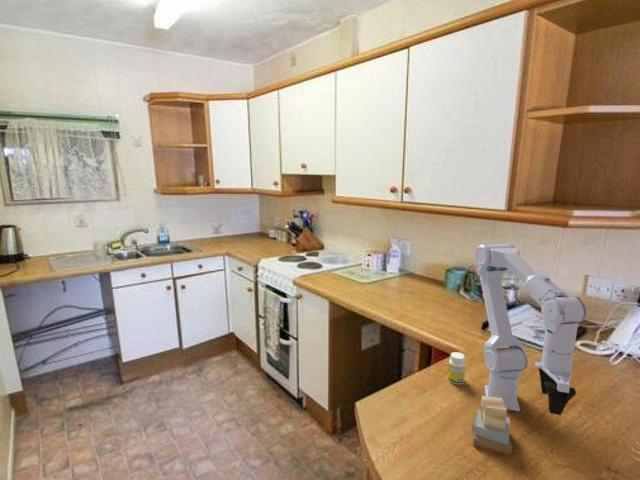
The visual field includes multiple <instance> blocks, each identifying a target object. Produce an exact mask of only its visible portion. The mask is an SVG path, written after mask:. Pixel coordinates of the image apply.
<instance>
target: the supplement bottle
mask: <svg viewBox="0 0 640 480" xmlns="http://www.w3.org/2000/svg"><path fill="white" fill-rule="evenodd" d="M449 358H450V359H449V361H448V368H447V369H448V372H447V380H448V382H450V383H451V384H454V385H463V384H464V383H465V374H466V362H465V361H466V360H465V359H466V357H465V355H464V354H463V353H460V352H458V351H457V352H455V351H453V352H451V353H450V357H449Z"/></svg>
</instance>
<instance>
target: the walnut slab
mask: <svg viewBox="0 0 640 480" xmlns="http://www.w3.org/2000/svg"><path fill="white" fill-rule="evenodd" d="M476 420H477V416H476V417H474V416H472V418H471V430H472V431H471V433H472V446H474V447H479V448H482V449H487V450H490V451H495V452H499V453H503V454H508V455H512V452H513V451H512V450H513V444H512V440H511V435H510V433H509V444H508V445H504V444H501V443H498V442H495V441H491V440H488V439H485V438H481V437H478V436H475V428H476Z"/></svg>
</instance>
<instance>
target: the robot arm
mask: <svg viewBox="0 0 640 480" xmlns="http://www.w3.org/2000/svg"><path fill="white" fill-rule="evenodd" d="M473 258H474V264H475V268H476V274H477V276H479V280H480V284H481V290H482V295H483V300H484V304H485V310H486V314H487V320H488V325H489V326H488V327H489V330H490V335H491V336H490V338H489V339H487V341H486V342H485V343H484V344H483V348H484V349H483V350H484V354H483V361H484V364H485V367H486V368H487V370H488V371H489V375H488V385H484V392H485V396H488V397H495V398H502V399H503V402H504V404H505V407H506V409H507V410H510V411H514V412H520V410H521V408H520V406H519V405H520V404H519V401H518V390H519V383H520V382H519V381H520V375H522V374H523V371H525V370H527V369H528V367H529V361H530V360H529V356H528V354H527V352H526V350H525V348H524V345H523V342H522V341H521V340H520V339H518V338H517V337H515V336H514V335H513V330H512V327H511V322H510V317H509V312H508V307H507V303H506V298H505V294H504V289H503V284H502V277H503V276H504V275H505V274H508V272H511V273H512V275H514V276H515V277H516V278H518V279H519V280H520V281H521V282H522V283H523V284H524V290H525V292H526V293H527V294H528V295H529V297H530V298H532V299H533V300H534V301H535V303H537V304H538V305H539V306H540V308H541V309H540V311H541V315H542V317H543V326H544V328H545V329H544V330H545V331H544V338H543V339H544V340H543V344H542V345H543V346H542V353H541V354H542V355H541V360H540V361H535V362H534V365H535V367H536V368H537V369H538V372H539V379H540V388H541V389H540V390H541V393H542V394H544V395H547V401H548V411H549V414H554V415H558V416H561V415H562V413H564V410H565V408H566V406H567V404H568V403H569V402H570V400H571V399H572V398H574V397H575V396H576V394H577V391H576V389H575V387H571V384H570V381H571V377H572V375H573V369H572V367H573V361H574V360H573V359H574V353H575V347H576V346H575V345H576V339H577V332H578V325H579V323H581V322H583V321H585V319H586V317H587V314H588V313H587V311H588V310H587V307H586V304H585V302H584V301H583V300H582V299H581V297H580V296H578V295H573V294H572V295H571V294H568V293H565V291H564V290H563V289H562V288H561V287H559V286H558V285H557V284H555V283H554V282H553V281H552V280H551V277H550V276H548V275H547V274H546V275H545V274H541V273H540V274H537V273H536V272H535V271H534V269H532V268H531V267H530V265H529V264H528V263H527V262H526V261H525V260H524V259H523V257H522V256H521V252H520V249H519V248H517V247H516V245H515V244H513V243H506V244H505V243H502V244H501V243H500V244H498V243H497V244H496V243H495V244H484V243H483V244H479V245H478V246H477V247H476V249H475V252H474V254H473Z"/></svg>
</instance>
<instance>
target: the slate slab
mask: <svg viewBox="0 0 640 480" xmlns="http://www.w3.org/2000/svg"><path fill="white" fill-rule="evenodd" d="M480 412H481V408H480V409H477V414H476V418H477V420H476V428H475V436H478V437H481V438H485V439H488V440H491V441H495V442H498V443H501V444H504V445H508V444H509V434H510V421H511V420H510V418H511V417H508V416H506V424H505V430H504V429H498V428H491V427H484V425H483V422H482V418H481V415H480Z"/></svg>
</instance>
